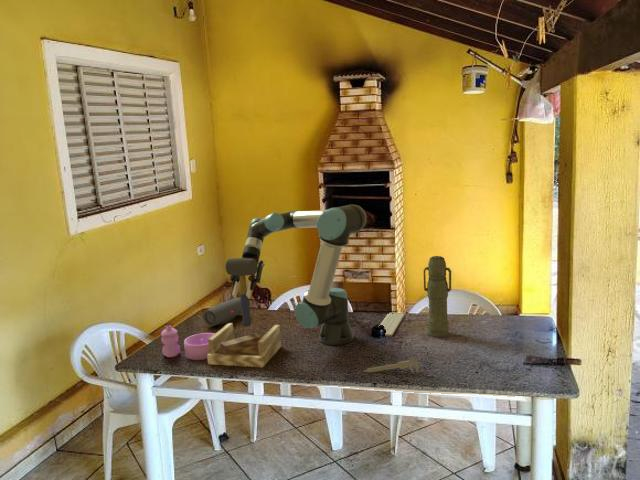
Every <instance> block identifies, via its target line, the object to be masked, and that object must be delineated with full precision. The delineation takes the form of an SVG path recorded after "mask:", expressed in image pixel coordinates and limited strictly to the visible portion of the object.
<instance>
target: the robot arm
mask: <svg viewBox="0 0 640 480" xmlns="http://www.w3.org/2000/svg"><path fill="white" fill-rule="evenodd" d="M366 223H367V213H366V212H365V210H364V209H363V207H361V206H360V205H357V204H347V205H342V206H337V207H330V208H328V209H319V210H318V209H317V210H316V209H315V210H302V211H301V210H291V211H288V212H281V213H279V212H272V213H269V214H268V215H267V216H265V217H264V218H261V217H255V218H253V219H251V221H250V225H249V227H248V231H247V236H246V240H245V243H244V248H243V251H242V255H241V256H242V257H241V258H250V259H255V260H256V261H257V265H258V269H257V272H256V274H255V275H250V281H249V282H248V284H247V293H246V296H247V297H248V298H249V299H250V298H251V294H252V291H254V290H255V285H256V284H260V283H261V279H262V272H263V268H264V266H265V262H264V261H263V260H262V259H261V260H260V256H261V252H262V249H263V243H264V240H265V238H266V237H267V236H269V235H271V234H273V233H276V232H277V233H278V232H281V231H285V230H290V229H301V228H302V229H308V228H309V229H310V228H315V229H317V233H318V236H319V239H320V241H321V243H320V247H319V251H318V254H317V258H316V262H315V266H314V270H313V274H312V278H311V281H310V284H309V285H310V286H309V289H308V290H305V292H304V294H303V298H302V301H299V302H298V303H296V305H295V307H294V315H295V318H296V319H297V322H298V323H299V324H300V325H301V327H303V328H305V329H313V328H317V327H318V326H321V328H320V331H319V335H318V339H319V342H320V343H322V344H324V345H329V346H340V345H345V344H348V343H350V342H352V341H353V340H354V332H353V330H352V327H351V325H350V322H349V321H350V320H349V303H348V292H347V291H346V290H345V289H344V288H339V287H332V286H333V282H334V279H335V276H336V272H337V268H338V265H339V261H340V257H341V253H342V250H343V248H344V247H346V246H347V245H348V243H349V240H350V237H351V235H353V234H356V233H360V231H362V230H363V229H364V227H366ZM229 280H230V281H231V283H232V297H233V299H234V298H237V297H238V296H237V295H238V292H239V287H240V276H238V275H230V278H229Z"/></svg>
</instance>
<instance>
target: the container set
mask: <svg viewBox="0 0 640 480" xmlns="http://www.w3.org/2000/svg"><path fill="white" fill-rule="evenodd" d="M215 333H216V332H215ZM215 333H213V332H203V333H202V332H201V333H195V334H193V335H190V336H188V337H185V339H184V340H183V346H184V347H183V348H184V356H185V357H186V358H187V359H188V360H193V361H201V360H208V359H207V355H208V354H209V345H208V339H209V338H210V337H212V336H213V335H214V334H215ZM160 334H161V343H162V344H163V346H162V349H161V350H162V354H163V355H164V356H165V357H167V358H173V357H177V356H178V355H179V353H180V351H181V346H180V344H179V343H178V341H179V335H178V330H177V329H176V328H173V327H172V325H170V324H169V325H166V326H165V329H163V330H162V331H161V333H160Z"/></svg>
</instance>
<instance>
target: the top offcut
mask: <svg viewBox="0 0 640 480" xmlns="http://www.w3.org/2000/svg"><path fill="white" fill-rule="evenodd" d="M261 338H262V337H261V336H260V335H259V334H257V333H253V334H249V335H244V336H241V337H237V338H234V339H233V340H229V341H226V342H222V343H220V344H221V350H222V351H224V352H225V353H229V352H233V351H236V350H240V349H243V348H247V347H250V346H253V345H257V344H258V341H259V340H260V339H261Z"/></svg>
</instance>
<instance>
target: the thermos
mask: <svg viewBox="0 0 640 480" xmlns="http://www.w3.org/2000/svg"><path fill="white" fill-rule="evenodd" d="M427 265H428V266H426V267H425V268H424V269H423V291H426V293H427V298H428V322H427V327H428V328H427V329H428V336H429V337H432V338H437V339H441V338H447V337H448V336H449V329H450V326H449V319H448V297H449V292H451V290H452V270H451V268H450V267H447V263H446V260H445V257H443V256H441V255H434V256H431V257H429V261H428V264H427ZM427 271H428V274H427V275H428V281H426V272H427ZM447 271H448V281H447ZM426 283H427V284H426Z"/></svg>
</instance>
